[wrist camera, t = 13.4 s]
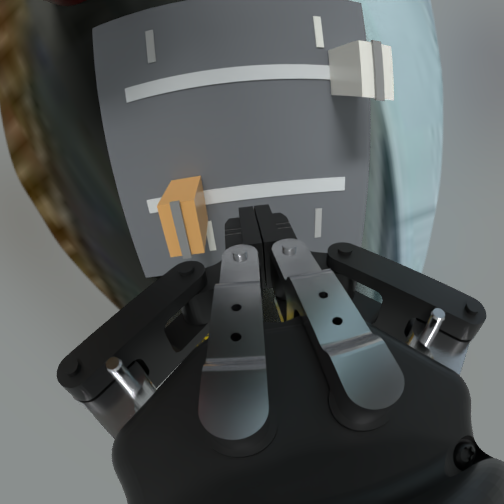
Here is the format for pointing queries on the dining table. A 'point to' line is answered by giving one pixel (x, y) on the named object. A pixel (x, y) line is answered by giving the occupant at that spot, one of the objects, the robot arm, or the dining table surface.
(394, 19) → the dining table surface
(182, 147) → the console
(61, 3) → the soda can
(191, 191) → the fader orange
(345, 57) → the block
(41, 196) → the dining table surface
